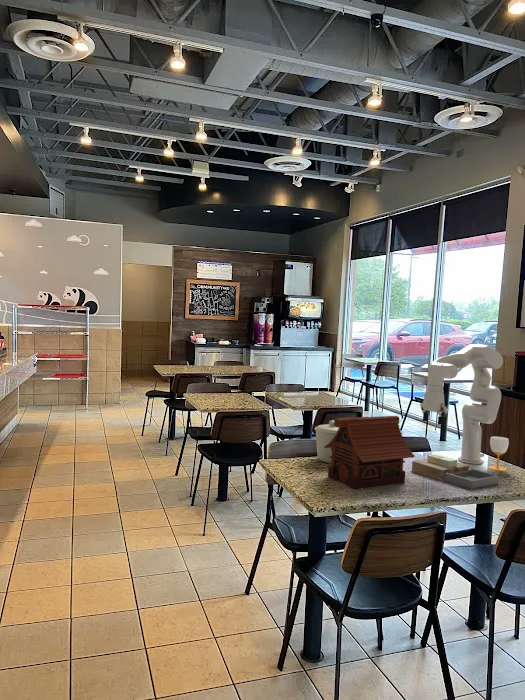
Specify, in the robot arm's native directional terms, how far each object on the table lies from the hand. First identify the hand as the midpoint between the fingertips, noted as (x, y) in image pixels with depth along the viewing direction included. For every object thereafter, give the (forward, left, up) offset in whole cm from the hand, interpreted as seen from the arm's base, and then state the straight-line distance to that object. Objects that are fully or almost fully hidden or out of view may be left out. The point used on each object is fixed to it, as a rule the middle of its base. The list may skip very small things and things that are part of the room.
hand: (432, 422), depth 259 cm
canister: (+35, -35, -24) cm, 55 cm away
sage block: (0, +10, -19) cm, 21 cm away
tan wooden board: (0, +6, -24) cm, 25 cm away
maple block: (0, +4, -19) cm, 19 cm away
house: (+44, -1, -24) cm, 50 cm away
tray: (0, +23, -24) cm, 33 cm away
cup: (-37, +13, -24) cm, 46 cm away
